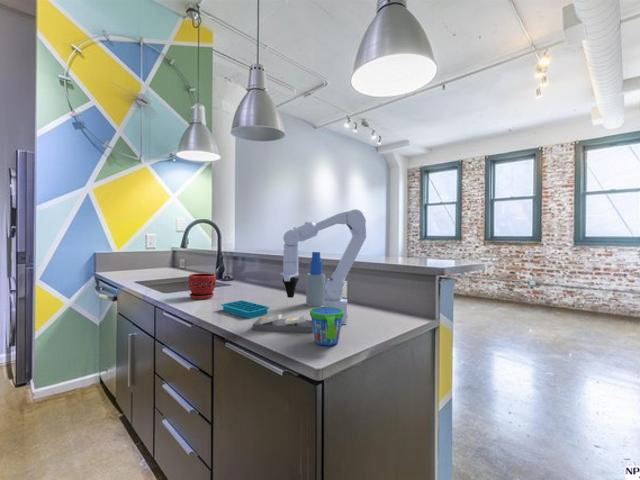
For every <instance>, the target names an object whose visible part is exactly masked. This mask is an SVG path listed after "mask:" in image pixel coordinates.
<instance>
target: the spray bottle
mask: <svg viewBox="0 0 640 480" xmlns="http://www.w3.org/2000/svg"><path fill="white" fill-rule="evenodd" d="M325 282H326V274H325V273H323V261H322V260H321V251H320V252H319V251H312V252H311V259H310V261H309V273H306V285H305V286H306V289H305V291H306V294H305V296H306V297H305V298H306V299H305V301H306V302H305V303H306V304H305V305H307V306H309V307H313V308H316V307H323V302H324V296H325V295H326V292H325V290H324V284H325Z"/></svg>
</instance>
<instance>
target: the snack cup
mask: <svg viewBox="0 0 640 480" xmlns="http://www.w3.org/2000/svg"><path fill="white" fill-rule="evenodd" d="M309 315H310V318H311V320H312V326H313V331H312V333H313V340H314V342H315V343H316V344H317V345H320V346H328V347H329V346H335V345H336V344H339V340H340V333H341V330H342V329H341V328H342V324H341V323H342V317H343V316H344V311H343V310H342V309H340V308H336V307H323V306H318V307H313V308H311V309H310V311H309Z"/></svg>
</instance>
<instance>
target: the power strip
mask: <svg viewBox="0 0 640 480" xmlns="http://www.w3.org/2000/svg"><path fill="white" fill-rule="evenodd" d="M263 318H264V317H259V318H257V320H255V321H254V322H253V323H252V324H251V325H252V327H251V328H252V331H265V332H266V331H267V332H268V331H269V332H287V333H292V332H293V333H307V334H308V333H309V334H312V333H313V326H312V319H306V321H305V322H299V323H292V324H286V325H285V321H286V320H287V319H288V318H280V319H279V320H276V321H271V322H267V323H263V324H260V321H261V320H262V319H263Z"/></svg>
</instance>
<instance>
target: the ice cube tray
mask: <svg viewBox="0 0 640 480" xmlns="http://www.w3.org/2000/svg"><path fill="white" fill-rule="evenodd" d="M220 307H222V310H223V312H226V313H228V314H233V315H236V316H240V317H243V318H246V319H253V318H256V317H260V316H264V315H267V314H268V310H269V309H270V306H267V305H263V304H260V303H256V302H252V301H247V300H242V299H241V300H235V301H230V302H226V303H220Z"/></svg>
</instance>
